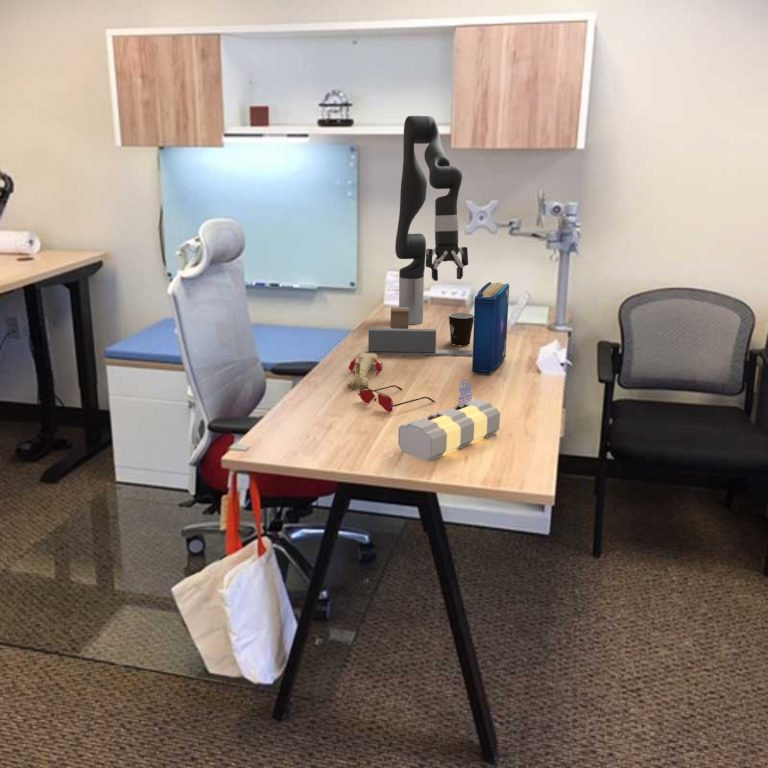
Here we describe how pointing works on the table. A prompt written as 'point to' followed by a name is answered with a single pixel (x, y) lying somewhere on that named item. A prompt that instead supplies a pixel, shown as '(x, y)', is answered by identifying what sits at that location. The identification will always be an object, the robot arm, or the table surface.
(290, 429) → the table surface
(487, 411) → the grey yellow banded box
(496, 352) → the book
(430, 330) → the panel
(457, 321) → the coffee mug
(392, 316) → the walnut block
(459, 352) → the rail
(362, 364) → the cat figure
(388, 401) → the glasses
